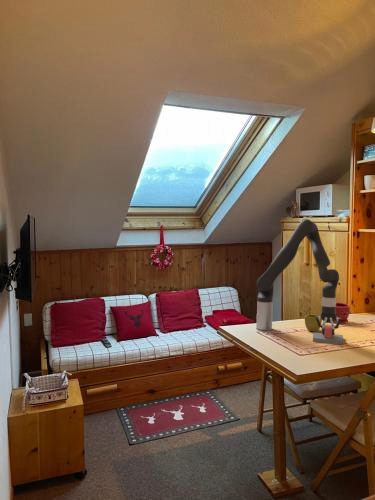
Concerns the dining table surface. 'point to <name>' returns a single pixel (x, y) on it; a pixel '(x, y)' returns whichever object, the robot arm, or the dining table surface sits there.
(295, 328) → the dining table surface
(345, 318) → the plant pot
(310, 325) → the flower pot
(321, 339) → the pin board
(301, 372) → the dining table surface
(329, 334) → the socket housing
